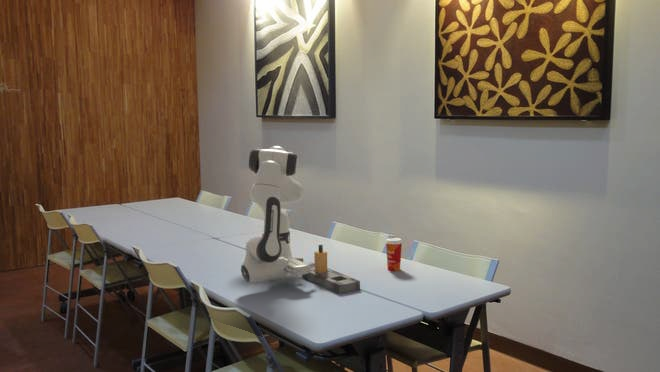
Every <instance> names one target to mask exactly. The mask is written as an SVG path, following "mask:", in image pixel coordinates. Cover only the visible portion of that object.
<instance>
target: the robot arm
mask: <svg viewBox="0 0 660 372" xmlns="http://www.w3.org/2000/svg"><path fill="white" fill-rule="evenodd" d="M247 164H248V168H249V169H250V171H251V172H254V174H256V176H255V181H254V183H253V184H252V186H251V187H250V190H249V196H250V199H251V201H252V202H253V203H254V204H256V205H257V206H258V207H259V208H260V209H261V210H262V212H263V214H264V220H263V233H262V234H261V236H258V237H257V236H256V237H252V238H250V239H249V240H248V241H247V242H246V245H245V257H244V260H243V262H242V264H241V267H240V272H241V275H242V277H243V279H244V280H245V281H247V282H249V283H259V282H260V283H261V282H265V281H266V282H267V281H268V280H277V279H282V278H286V277H287V275H288V274H290V275H293V276H301V275H303V274H308V273H310V268H312V267H315V262H309V263H306V262H304V258H303V257H294V256H293V254H292V249H291V231H290V220H289V219H290V218H289V215H288V214H287V212H285V211H283V210H282V209H281V204H283V205H284V204H293V203H298V202H300V201H301V200H302V198H303V196H304V187H303V185H302V184H301V183H300V182H299V181H297V180H295V179H293V178H292V176H294V175H295V174H296V173H297V171H298V170H299V169H298V168H299V166H300V161H299V158H298V155H297V154H296V153H295V152H292V151H287V150H286V149H285V148H284V147H282V146H280V145H273V146H271V147H269V148H264V149H263V148H262V149H261V148H254V149H253V148H252V150H251V151H250V152H249V155H248V157H247Z"/></svg>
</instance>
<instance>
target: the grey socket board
mask: <svg viewBox="0 0 660 372" xmlns="http://www.w3.org/2000/svg"><path fill="white" fill-rule="evenodd" d="M301 277H303V278H304V279H307V280H308V281H311V282H313V283H316V284H318V285H319V286H322V287H324V288H326V289H328V290H330V291H333V292H335V293H337V294H339V295H341V294H345V293H350V292H355V291H359V290H361V280H358V279H356V278H353V277H350V276H349V275H346V274H344V273H341V272H339V271H336V270H333V269H332V268H328V267H327V272H324V273H317V272H315V267H312V268H310V273H308V274H303V275H302V276H301Z"/></svg>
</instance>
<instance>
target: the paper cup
mask: <svg viewBox="0 0 660 372" xmlns="http://www.w3.org/2000/svg"><path fill="white" fill-rule="evenodd" d="M402 244H403V241H402V239H401V238H398V237H389V238H386V239H385V246H386V247H385V248H386V259H387V260H386V262H387V264H386V265H387V271H391V272H398V271H400V270H401V258H402Z"/></svg>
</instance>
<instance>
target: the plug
mask: <svg viewBox="0 0 660 372" xmlns="http://www.w3.org/2000/svg"><path fill="white" fill-rule="evenodd" d="M323 246H324V245H323V244H319V245H318V250H317V251H314V256H313V257H314V264H315V272H317V273H324V272H327V268H328V252H327V251H324V250H323V248H324V247H323Z"/></svg>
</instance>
